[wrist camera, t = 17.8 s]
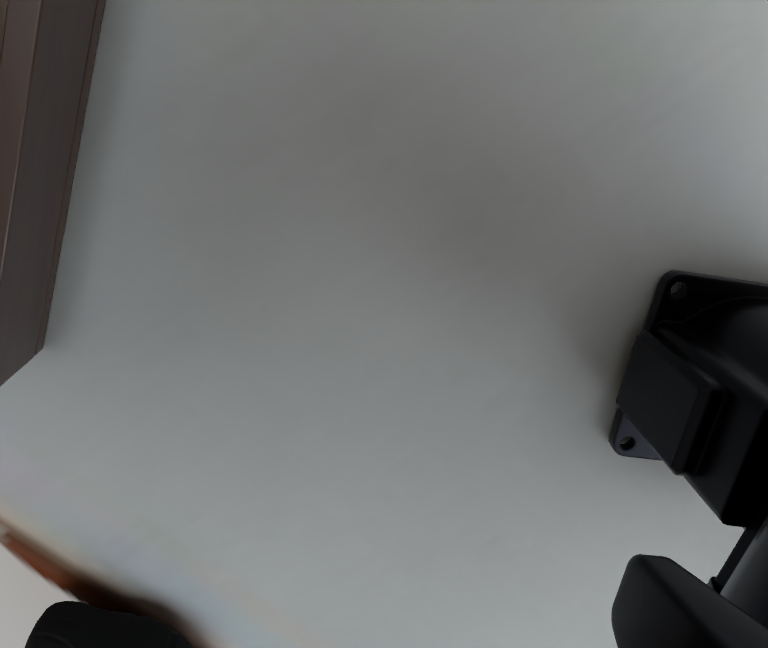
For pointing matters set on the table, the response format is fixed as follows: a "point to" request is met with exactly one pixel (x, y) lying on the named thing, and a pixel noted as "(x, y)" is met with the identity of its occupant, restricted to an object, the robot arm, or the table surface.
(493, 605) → the table surface
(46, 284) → the tray
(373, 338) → the table surface
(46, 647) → the tape measure
